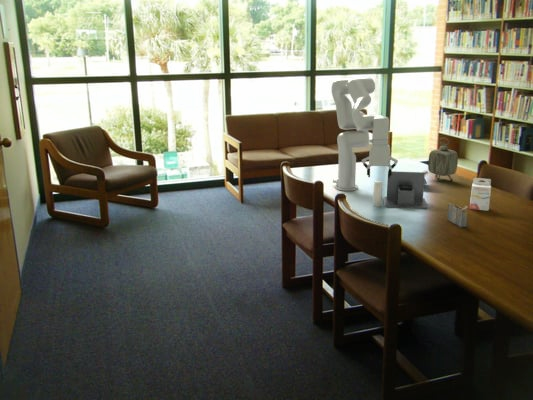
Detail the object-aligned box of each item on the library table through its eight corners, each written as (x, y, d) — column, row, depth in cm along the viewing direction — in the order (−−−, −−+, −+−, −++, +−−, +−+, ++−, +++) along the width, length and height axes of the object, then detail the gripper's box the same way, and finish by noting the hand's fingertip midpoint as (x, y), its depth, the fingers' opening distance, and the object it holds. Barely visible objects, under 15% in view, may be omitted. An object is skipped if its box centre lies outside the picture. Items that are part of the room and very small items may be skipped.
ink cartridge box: (469, 209, 259) (472, 179, 255) (469, 206, 264) (472, 177, 260) (488, 210, 257) (492, 181, 252) (488, 208, 261) (491, 178, 257)
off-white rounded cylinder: (371, 205, 268) (372, 182, 264) (375, 203, 270) (376, 180, 267) (378, 207, 265) (379, 183, 262) (382, 205, 268) (383, 181, 264)
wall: (417, 197, 294) (438, 179, 292) (406, 185, 294) (428, 167, 292) (410, 194, 310) (431, 176, 309) (401, 182, 310) (421, 165, 308)
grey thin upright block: (466, 227, 236) (468, 206, 233) (460, 228, 235) (462, 206, 233) (452, 219, 247) (454, 199, 244) (446, 220, 246) (448, 199, 243)
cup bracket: (384, 198, 279) (385, 170, 275) (424, 200, 275) (426, 171, 271) (384, 207, 265) (386, 177, 261) (426, 208, 261) (428, 179, 257)
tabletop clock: (456, 181, 310) (459, 138, 303) (445, 183, 306) (449, 140, 298) (435, 176, 322) (438, 135, 315) (425, 178, 317) (428, 137, 310)
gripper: (361, 143, 257) (360, 178, 261) (398, 143, 253) (397, 179, 258) (362, 140, 264) (361, 174, 268) (398, 141, 260) (396, 175, 265)
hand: (379, 176), depth 263 cm, fingers open, 9 cm apart
